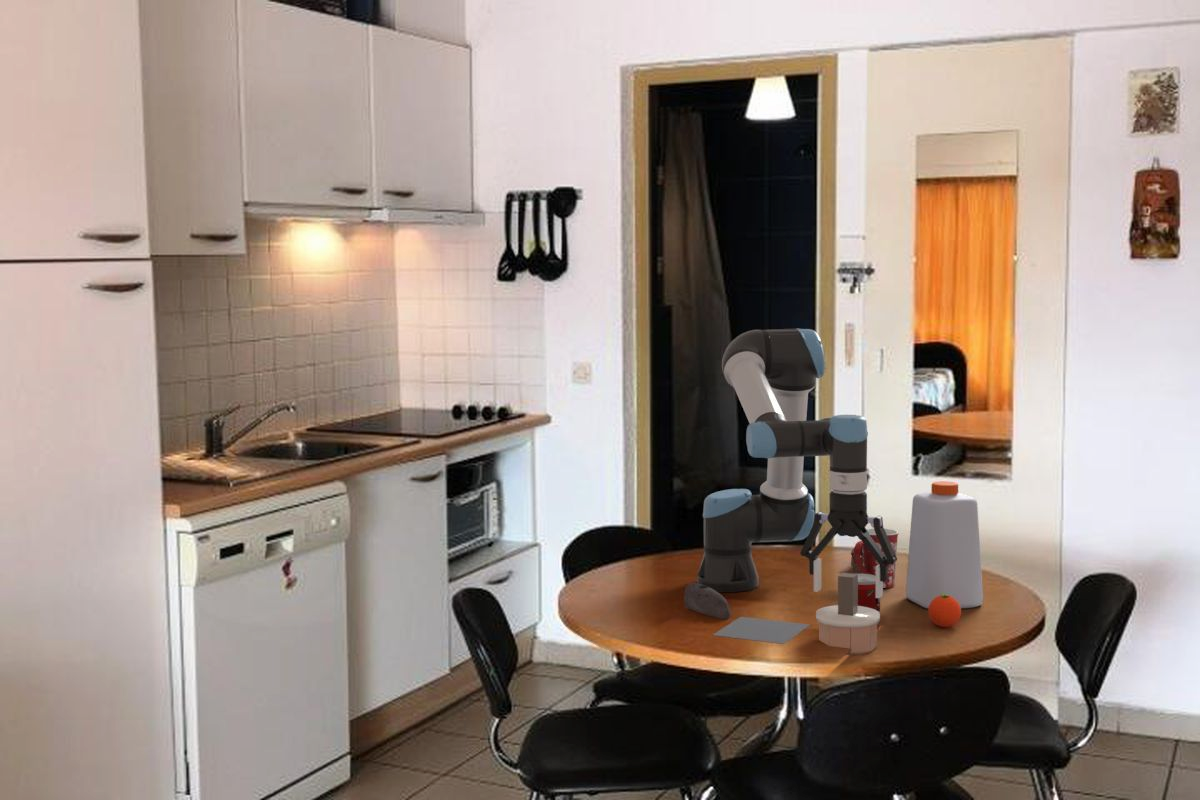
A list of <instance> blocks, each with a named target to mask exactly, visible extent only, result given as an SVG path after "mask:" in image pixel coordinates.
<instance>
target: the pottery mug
mask: <svg viewBox="0 0 1200 800" xmlns="http://www.w3.org/2000/svg"><path fill="white" fill-rule="evenodd" d="M854 548H855V546H854V547H853V549H852V550H851V552H850V556H851V558H850V566H851V569H852V571H853V570H854V571H856V570H855V569H856V568H857V569H859V568H858V566H857V564H856V561H855V557H854ZM860 557H861V561H862V563H863V552H862V547H861V551H860Z"/></svg>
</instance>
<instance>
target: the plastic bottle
mask: <svg viewBox="0 0 1200 800" xmlns="http://www.w3.org/2000/svg"><path fill="white" fill-rule="evenodd" d="M930 488H931V491H929V492H920V493H916V494H915V495H914V496H913V498H912V503H911V504H912V505H911V518H910V530H909V544H908V555H907V556H908V557H907V568H906V569H907V570H906V584H905V596H906V598H907V599H908V600H909V601H911V602H913V603H915V604H916V605H918V606H920V607H922V608H924V609H928V610H929V605H930V603H931V601H932V600H933V599H934V598H936V597H937V596H940V594H946V595H948V596H951V597H953V598H954V599H956V600H957V601H958V603H959V605H960V607H961V610H962V609H970V608H977V607H979V606H980V605H982V603H983V602H984V594H983V578H982V562H981V561H982V559H981V545H980V544H981V542H980V541H981V540H980V529H979V528H980V527H979V526H980V525H979V511H978V508H979V507H978V501H977V499H975V498H974V497H972V496H971V495H970V496H969V495H968V494H964V493H961V492H959V484H958V483H957V482H955V481H948V480H947V481H933V482H932V483H931V487H930Z"/></svg>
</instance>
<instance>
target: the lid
mask: <svg viewBox="0 0 1200 800" xmlns="http://www.w3.org/2000/svg"><path fill="white" fill-rule="evenodd" d="M858 574H859V573H850V572H849V573H848V572H842V573H840V574H839V575H837V604H836V605H829V606H824V607H821V608H818V609H817V610H816V612H815V617H816V621H817V622H818V623H819V622H821V623H823V624H826V625H831V626H837V627H865V626H871V625H874V624H877V623H878V622H879V621H880V622H881V612H880V613H879V612H878V611H877V610H874V609H872V608H868V607H863V606H858ZM880 622H879V623H880ZM879 623H878V624H879ZM878 624H877V625H878Z"/></svg>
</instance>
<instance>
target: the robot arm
mask: <svg viewBox="0 0 1200 800" xmlns="http://www.w3.org/2000/svg"><path fill="white" fill-rule="evenodd" d="M721 359H722V360H721V369H722V373H723V376H724V378H725V380H726V382H727V384H728V385H730V386H731V387H733V389H734V391H735V393H736V395H737V397H738V400H739V402H740V404H741V407H742V408H743V412H744V413H745V416H746V418H747V420H748V423H749V424H748V425H747V428H746V433H745V434H746V435H745V437H746V438H745V441H746V446H747V447H746V448H747V452H748V454H749V456H751V457H752V458H754V459H755V458H756V459H757V458H759V459H760V458H761V459H763V458H764V459H767V469H766V470H767V472H766V481H764V482H763V483H761V485H760V487H759V494H752V492H751V490H749V489H747V488H730V489H723V490H720V491H715V492H713V493H710V494H709V495H707V496H706V497H705V498H704V501H703V511H702V518H703V556H702V560H701V562H700V566H699V569H698V572H697V576H696V583H699V584H702V585H705V586H708V587H710V588H712V589H713V590H715V591H716V592H718V593H738V592H746V591H751V590H754V589H756V588H758V587H759V586H760V585H759V579H760V578H759V574H758V571H757V568H756V567H757V566H756V565H755V562H754V558H753V555H752V543H771V542H772V543H773V542H774V543H775V542H788V543H789V542H790V543H791V542H793V541H802V540H805V539H806V540H805V542H804V544H803V546H802V548H801V551H800V556H802V557H806V558H807V559H808V560H809V561H808V562H809V565H808V566H809V568H808V569H809V575H810V576H812V575H813V592H815V593H816V592H817V593H818V592H819V591H821V590H822V558H820V557H819V555H820V554H821V553H822V552H823V551H824V550H825V549H826V547H827V546H828V544H830V542H831V541H832V540H833V539H834V538H835V536H837V535H838V536H839V537H846V536H847V537H850V538H855V537H857V538H858V539H859V540H860V541H862V542H863V543H864V544H865V546H866V547H867V548H868V550H869V551H870V552H871V554H872V555H873V557H874V558H875V559H876V561H877V562H878V563H879V565H877V566H876V598H880V599H881V598H882V597H883V596H884V589H883V582H885V581H886V580H887V578H888V565H889V564H893V563H894V562H896V563H897V561H898V557H897V554H896V555H895V552H894V550H893V548H892V546H891V543H890V541H889V539H888V537H887V534H886V532H885V530H884V522H883V521H884V520H883V517H882V515H878V516H869V515H868V513H867V512H868V494H867V492H866V490H867V489H868V436H869V432H868V426H867V425H868V424H867V423H868V422H867V419H866V418H865V417H864V416H863V415H857V414H837V415H833V416H832V417H823V418H821V419H819V420H807V414H808V413H807V412H808V403H809V401H808V399H809V393H810V392H811V391H812V390H813V389H815V388H816V380H817V379H820V378H823V376H824V375H825V371H826V370H825V369H826V362H825V352H824V347H823V344H822V340H821V337H820V336H819V334H818V333H817V332H816V331H815V330H814V329H812V328H811V329H810V328H797V327H796V328H784V329H781V328H780V329H778V328H777V329H752V330H748V331H746V332H742V333H741V334H739V335H738V336H736V337H735V338H734V339H732V341H731V342H730V343H729V344H728V346H727V347H726V349H725V351H724V353H723V356H722V358H721ZM822 456H823V457H826V456H828V457H829V489H830V490H831V491H830V493H829V512H828V513H824V512H823V511H818V512H816V513H815V510H814V509H815V501H814V497H813V496H812V495H811V493H809V490H808V487H806V485H805V484H804V483H803V474H804V461H805V460H804V459H805V458H804V457H822ZM827 521H828V523H829V524H830V525H831V528H830V529H829V530H828V532H827V533H826V534H825V535H824V537H823V538H822V540H820V542H819V543H818V544H817V545H816V546H815V547H814V549H813V550H812V548H813V546H814V543H815V542H816V539H817V537H818V535H819V533H820V530H821V529H822V527H823V524H825V523H826V522H827ZM868 524H870V526H871V528H874V530H875V533H876V535H877V538H878V540H879V542H880V545H881V547H882V549H883V551H884V554H885V555H884V554H883V552H882V551H881V550H880V548H879V547H878V546H877V544H876V543H875V542H874V540H873V539H872V538H871V536H870V534H869V532H868V531H867V529H868V528H866V527H867V525H868Z"/></svg>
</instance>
